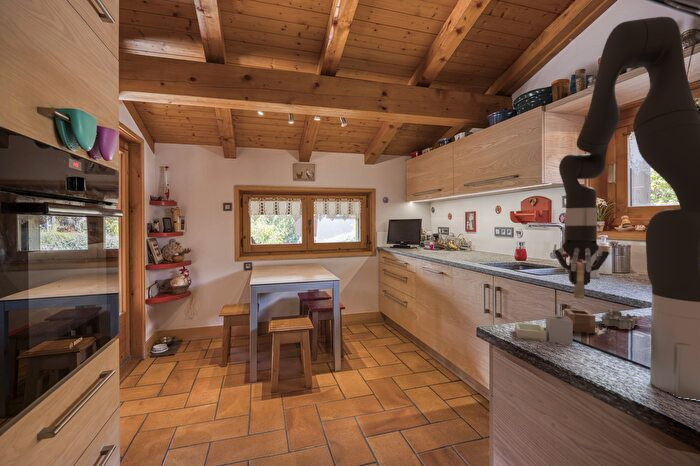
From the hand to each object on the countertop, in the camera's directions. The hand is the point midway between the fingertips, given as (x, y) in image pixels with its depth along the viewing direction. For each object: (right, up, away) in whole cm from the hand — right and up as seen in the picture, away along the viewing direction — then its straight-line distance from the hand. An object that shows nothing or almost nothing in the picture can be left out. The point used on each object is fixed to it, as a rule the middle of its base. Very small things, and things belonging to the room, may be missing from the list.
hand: (579, 284), depth 92 cm
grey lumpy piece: (+15, -13, +4) cm, 21 cm away
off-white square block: (-11, -14, -8) cm, 19 cm away
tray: (-17, -13, -5) cm, 22 cm away
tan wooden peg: (0, -4, 0) cm, 4 cm away
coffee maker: (+70, -11, +88) cm, 113 cm away
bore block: (0, -13, 0) cm, 13 cm away
